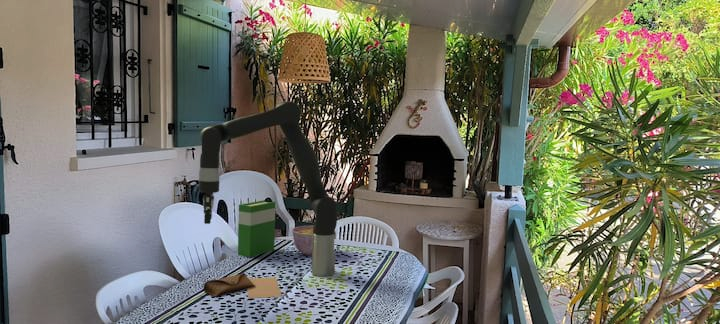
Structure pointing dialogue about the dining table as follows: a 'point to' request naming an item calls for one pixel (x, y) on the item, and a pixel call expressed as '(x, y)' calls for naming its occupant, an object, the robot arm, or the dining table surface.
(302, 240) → the bowl of food
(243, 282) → the sunglasses case
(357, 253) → the dining table surface
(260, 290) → the mat
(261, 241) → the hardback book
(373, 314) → the dining table surface
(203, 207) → the robot arm
